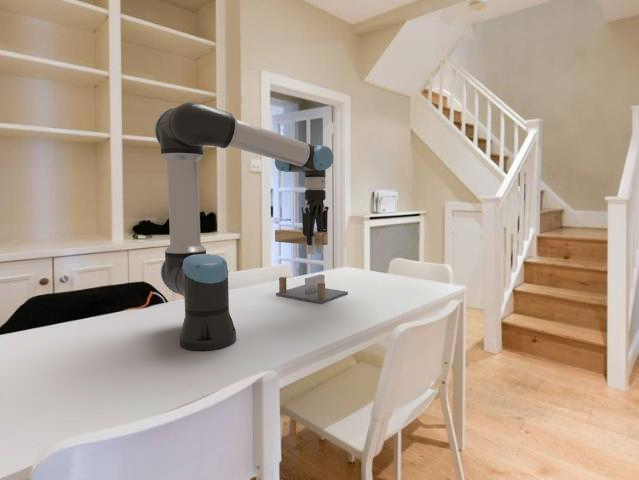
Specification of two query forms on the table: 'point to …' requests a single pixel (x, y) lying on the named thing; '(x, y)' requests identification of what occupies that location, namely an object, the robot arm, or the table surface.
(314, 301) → the board
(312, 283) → the ridge
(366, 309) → the table surface
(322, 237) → the oak batten
